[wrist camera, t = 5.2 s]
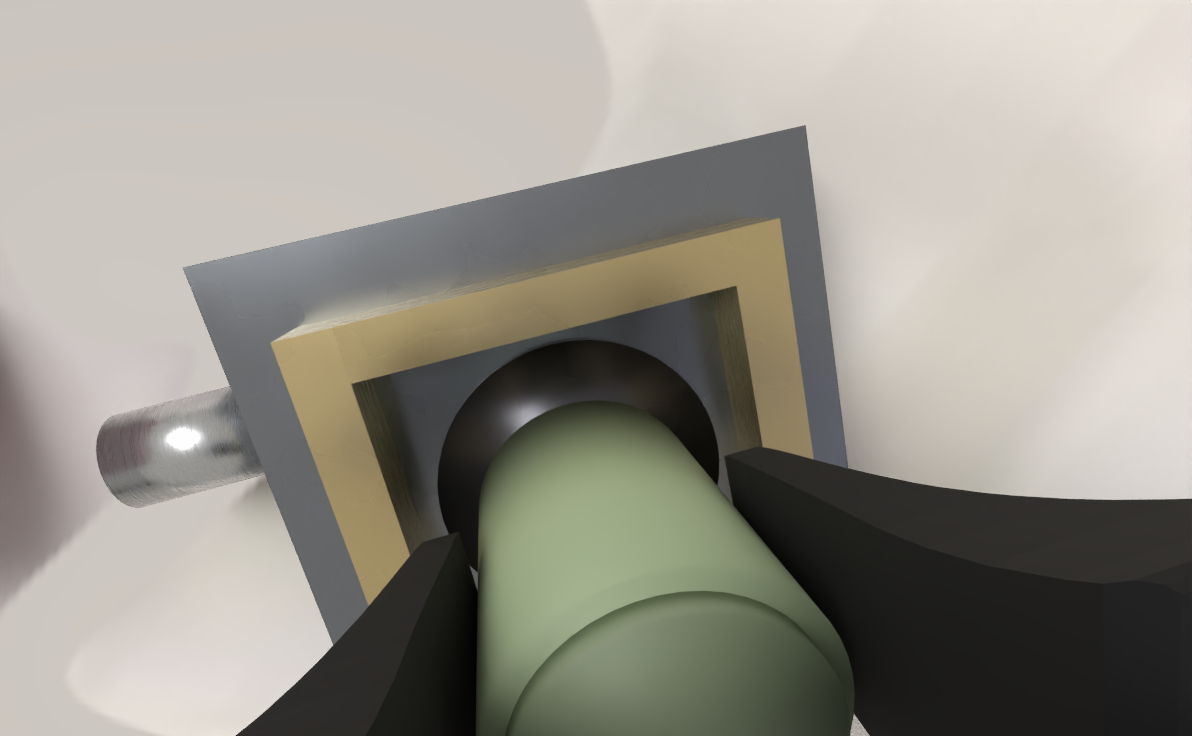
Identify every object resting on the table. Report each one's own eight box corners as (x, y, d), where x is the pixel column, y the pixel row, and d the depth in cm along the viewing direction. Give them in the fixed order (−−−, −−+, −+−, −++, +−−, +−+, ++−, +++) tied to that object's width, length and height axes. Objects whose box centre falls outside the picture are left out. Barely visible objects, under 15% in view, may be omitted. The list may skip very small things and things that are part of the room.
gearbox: (745, 142, 15) (847, 112, 11) (808, 562, 18) (906, 667, 14) (105, 289, 14) (-70, 322, 9) (294, 722, 17) (228, 895, 13)
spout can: (669, 371, 13) (938, 614, 5) (715, 562, 14) (979, 971, 7) (448, 440, 12) (393, 811, 5) (515, 629, 14) (556, 1151, 6)
